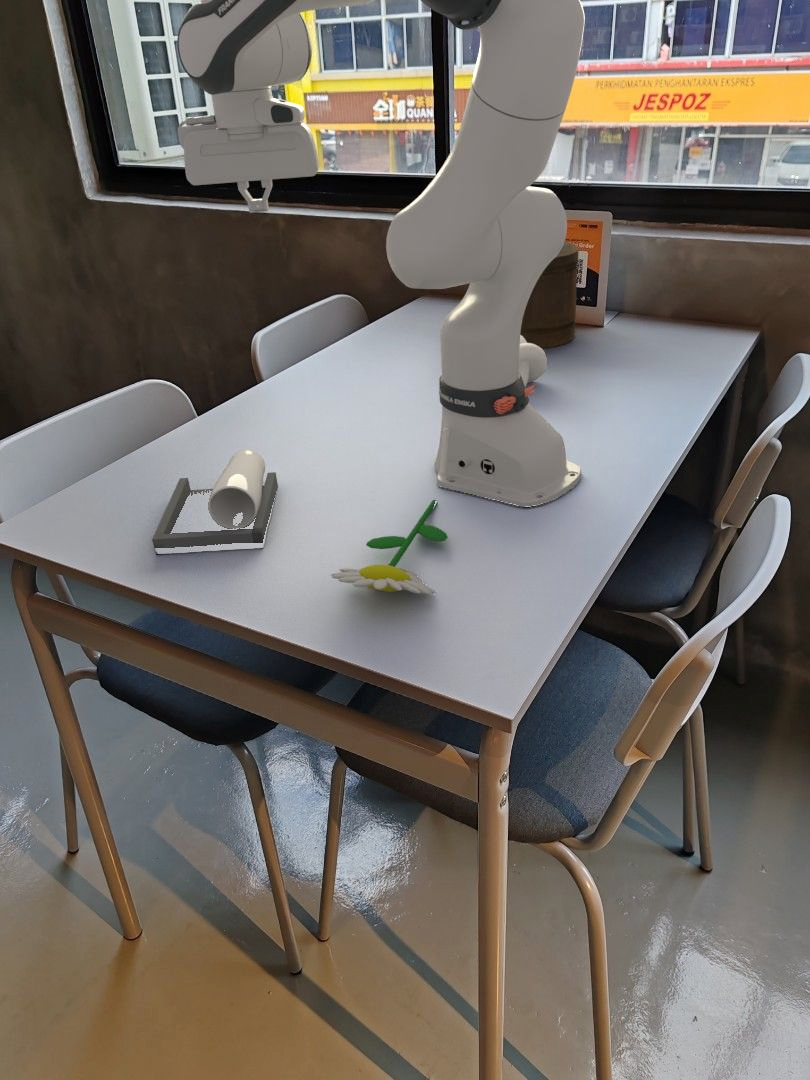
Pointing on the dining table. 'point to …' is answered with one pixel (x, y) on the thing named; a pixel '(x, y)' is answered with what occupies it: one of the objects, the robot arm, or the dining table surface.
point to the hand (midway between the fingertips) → (259, 211)
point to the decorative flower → (394, 562)
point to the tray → (205, 538)
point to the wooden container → (553, 302)
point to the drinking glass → (238, 490)
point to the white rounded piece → (531, 361)
